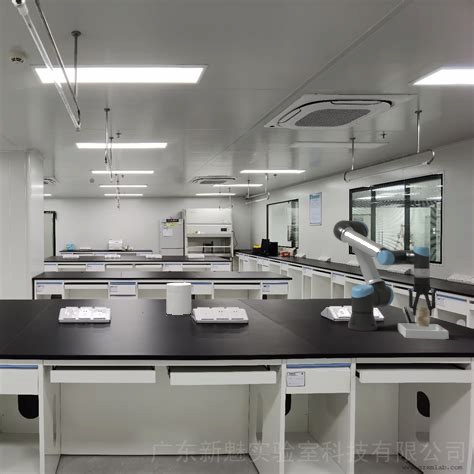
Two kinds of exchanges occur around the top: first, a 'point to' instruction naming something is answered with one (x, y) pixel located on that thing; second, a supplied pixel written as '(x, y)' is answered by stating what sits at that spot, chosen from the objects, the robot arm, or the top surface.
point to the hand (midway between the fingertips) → (422, 322)
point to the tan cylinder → (423, 317)
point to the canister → (178, 298)
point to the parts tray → (423, 331)
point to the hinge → (408, 315)
